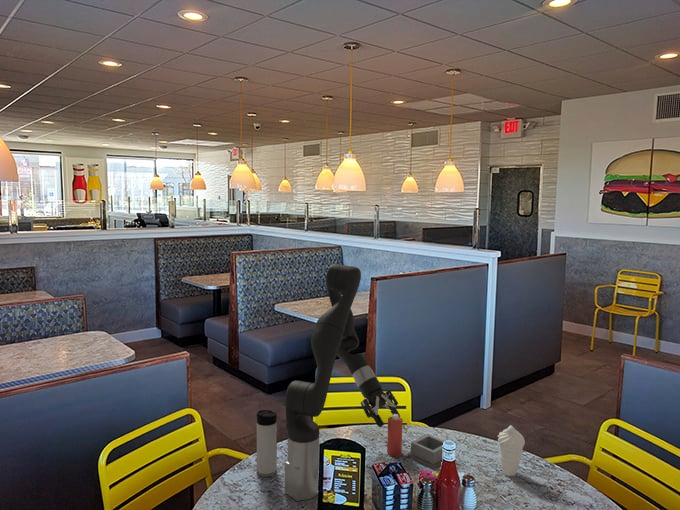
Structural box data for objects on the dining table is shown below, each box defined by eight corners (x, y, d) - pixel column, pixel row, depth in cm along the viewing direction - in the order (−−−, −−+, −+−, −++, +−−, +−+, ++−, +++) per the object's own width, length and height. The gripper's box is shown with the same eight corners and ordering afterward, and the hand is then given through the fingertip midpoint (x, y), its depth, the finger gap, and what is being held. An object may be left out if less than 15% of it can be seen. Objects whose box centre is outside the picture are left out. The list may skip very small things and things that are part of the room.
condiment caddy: (433, 469, 161) (434, 454, 161) (407, 456, 169) (407, 442, 168) (453, 457, 169) (453, 443, 168) (426, 446, 176) (427, 432, 176)
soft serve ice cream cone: (500, 463, 165) (502, 417, 164) (526, 471, 161) (528, 423, 159) (492, 474, 159) (494, 426, 157) (518, 482, 154) (521, 433, 152)
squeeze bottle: (395, 458, 168) (396, 419, 166) (384, 452, 171) (385, 415, 170) (404, 453, 171) (405, 415, 170) (393, 447, 175) (394, 411, 173)
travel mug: (251, 472, 157) (251, 411, 155) (268, 464, 162) (268, 405, 160) (264, 480, 153) (264, 417, 151) (280, 471, 158) (281, 411, 156)
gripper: (358, 381, 172) (382, 423, 165) (385, 371, 182) (409, 411, 174) (347, 391, 176) (370, 433, 169) (374, 382, 186) (397, 421, 179)
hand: (390, 422), depth 172 cm, fingers open, 8 cm apart
